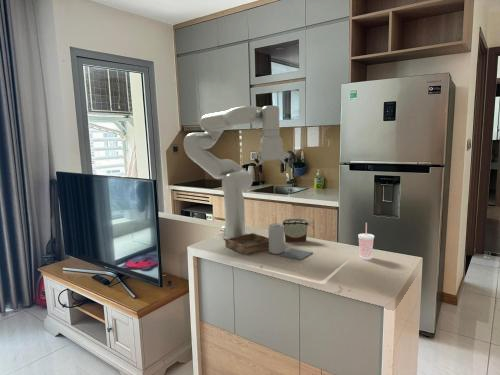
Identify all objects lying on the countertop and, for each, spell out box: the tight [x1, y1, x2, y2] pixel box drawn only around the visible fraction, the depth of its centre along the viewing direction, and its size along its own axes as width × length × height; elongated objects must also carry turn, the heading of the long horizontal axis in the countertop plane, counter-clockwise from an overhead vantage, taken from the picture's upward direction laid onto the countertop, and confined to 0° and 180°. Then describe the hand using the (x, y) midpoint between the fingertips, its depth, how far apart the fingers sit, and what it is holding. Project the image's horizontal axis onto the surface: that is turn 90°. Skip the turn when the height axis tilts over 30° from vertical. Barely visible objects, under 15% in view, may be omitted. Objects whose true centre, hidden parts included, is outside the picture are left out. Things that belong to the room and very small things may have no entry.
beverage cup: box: [357, 222, 375, 260], centre depth 140 cm, size 6×6×14 cm
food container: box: [281, 218, 310, 243], centre depth 166 cm, size 12×6×10 cm, turn 84°
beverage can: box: [268, 222, 285, 255], centre depth 149 cm, size 6×6×12 cm
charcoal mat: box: [279, 248, 313, 261], centre depth 147 cm, size 10×10×1 cm
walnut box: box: [224, 232, 269, 256], centre depth 158 cm, size 16×16×4 cm
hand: (271, 173), depth 159 cm, fingers open, 9 cm apart
